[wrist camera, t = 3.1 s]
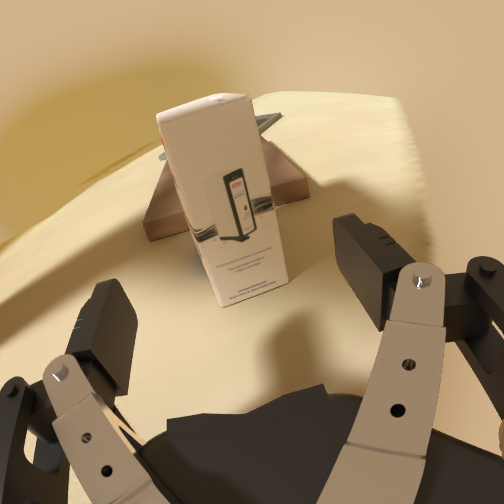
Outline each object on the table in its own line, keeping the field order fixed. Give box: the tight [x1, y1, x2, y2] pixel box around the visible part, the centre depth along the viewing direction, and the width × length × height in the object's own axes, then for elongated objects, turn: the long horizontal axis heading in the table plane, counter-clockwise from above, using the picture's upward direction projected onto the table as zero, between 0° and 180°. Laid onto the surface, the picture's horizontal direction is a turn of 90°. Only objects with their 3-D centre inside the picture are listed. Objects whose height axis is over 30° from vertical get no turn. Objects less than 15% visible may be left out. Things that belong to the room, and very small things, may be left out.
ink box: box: [157, 93, 289, 307], centre depth 20 cm, size 9×5×12 cm, turn 18°
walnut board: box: [143, 134, 309, 241], centre depth 41 cm, size 16×26×2 cm, turn 9°
